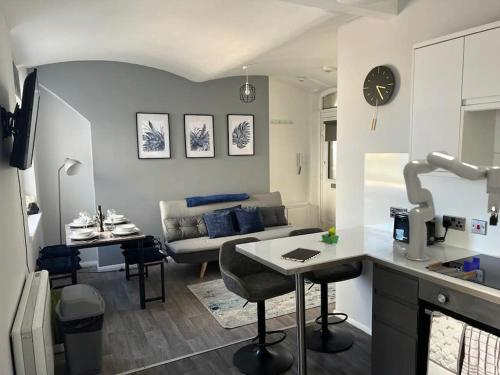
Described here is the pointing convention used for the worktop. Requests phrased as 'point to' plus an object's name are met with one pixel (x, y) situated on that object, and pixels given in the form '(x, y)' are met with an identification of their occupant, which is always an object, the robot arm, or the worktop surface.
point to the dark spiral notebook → (301, 254)
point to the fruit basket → (330, 236)
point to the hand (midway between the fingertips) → (493, 223)
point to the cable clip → (472, 265)
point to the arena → (451, 271)
